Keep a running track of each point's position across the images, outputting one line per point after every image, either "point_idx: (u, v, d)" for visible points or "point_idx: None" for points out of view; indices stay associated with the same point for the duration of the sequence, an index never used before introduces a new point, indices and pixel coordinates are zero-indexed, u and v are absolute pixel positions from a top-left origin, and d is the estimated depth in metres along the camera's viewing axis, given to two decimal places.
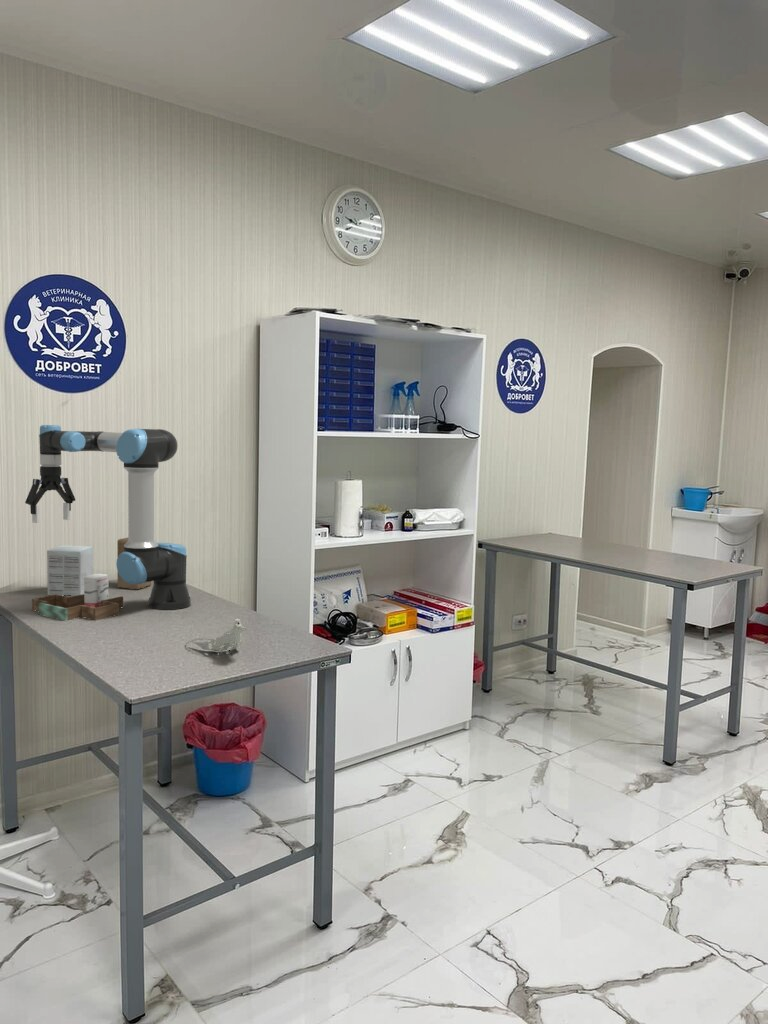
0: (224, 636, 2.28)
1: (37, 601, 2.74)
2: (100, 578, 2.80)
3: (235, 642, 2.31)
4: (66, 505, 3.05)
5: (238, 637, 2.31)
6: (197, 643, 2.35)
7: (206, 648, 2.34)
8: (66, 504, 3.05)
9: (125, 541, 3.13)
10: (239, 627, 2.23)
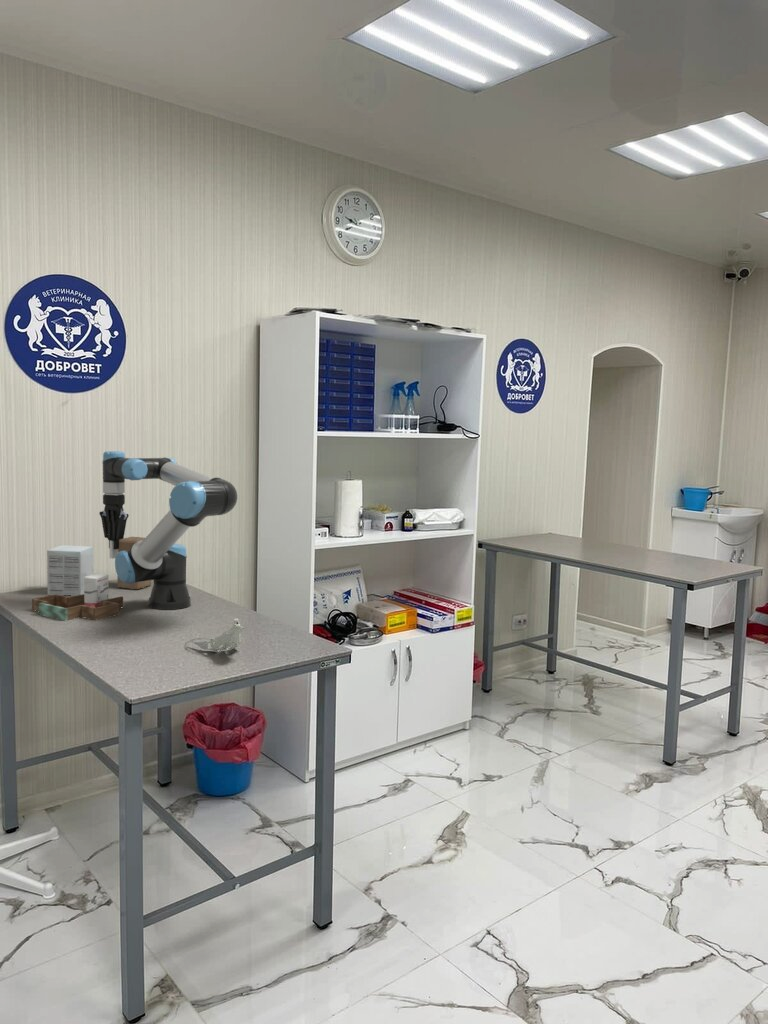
0: (223, 636, 2.28)
1: (37, 601, 2.74)
2: (100, 578, 2.80)
3: (234, 642, 2.31)
4: None
5: (237, 637, 2.31)
6: (196, 643, 2.36)
7: (205, 648, 2.34)
8: None
9: (125, 541, 3.13)
10: (238, 627, 2.24)
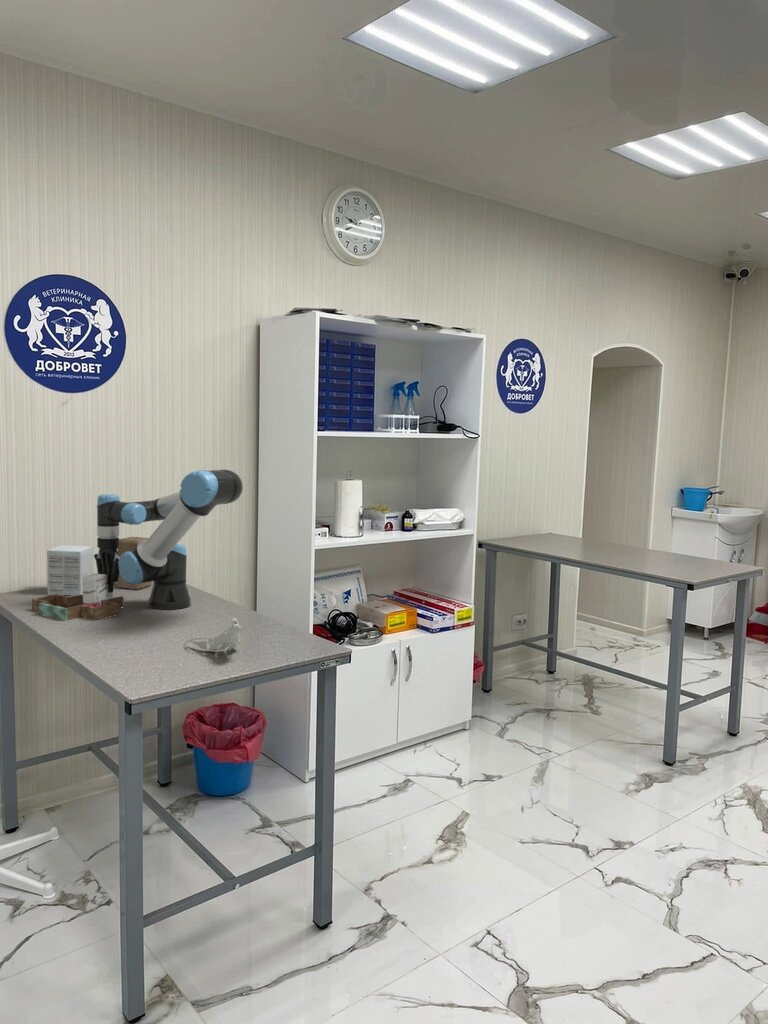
0: (221, 636, 2.28)
1: (37, 601, 2.74)
2: (99, 578, 2.80)
3: (233, 642, 2.31)
4: None
5: (236, 637, 2.31)
6: (195, 642, 2.36)
7: (204, 648, 2.34)
8: None
9: (125, 541, 3.13)
10: (236, 627, 2.24)
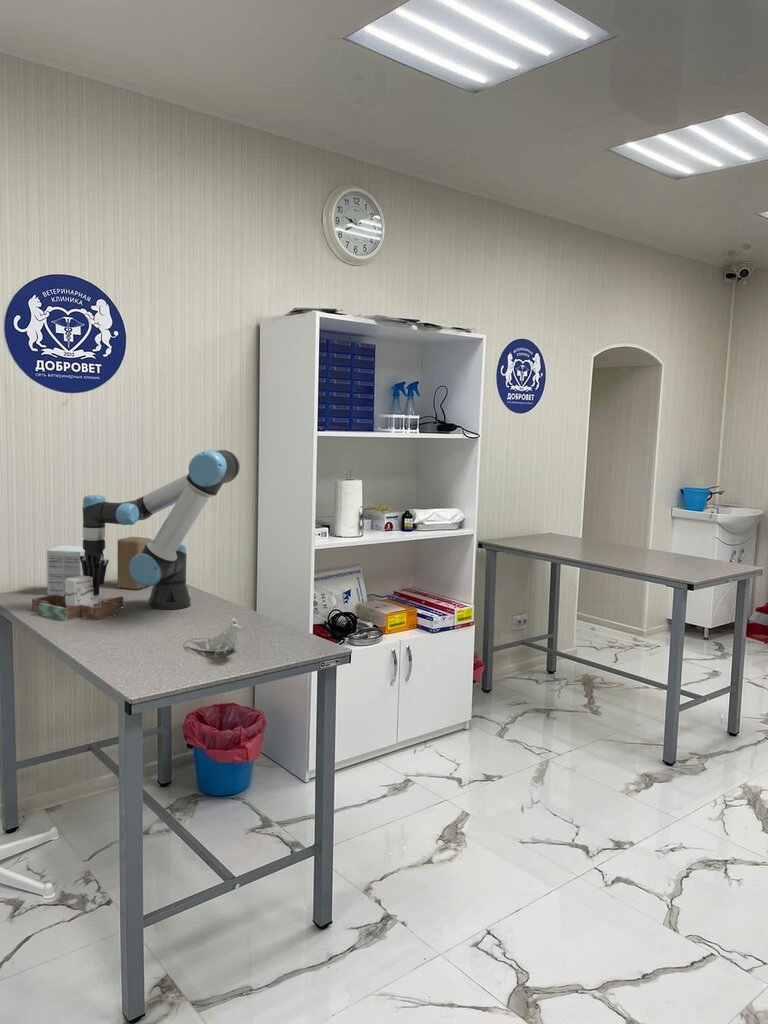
0: (221, 636, 2.28)
1: (37, 601, 2.74)
2: (81, 580, 2.74)
3: (232, 642, 2.31)
4: None
5: (235, 637, 2.31)
6: (195, 642, 2.36)
7: (204, 647, 2.34)
8: None
9: (125, 541, 3.13)
10: (235, 627, 2.24)
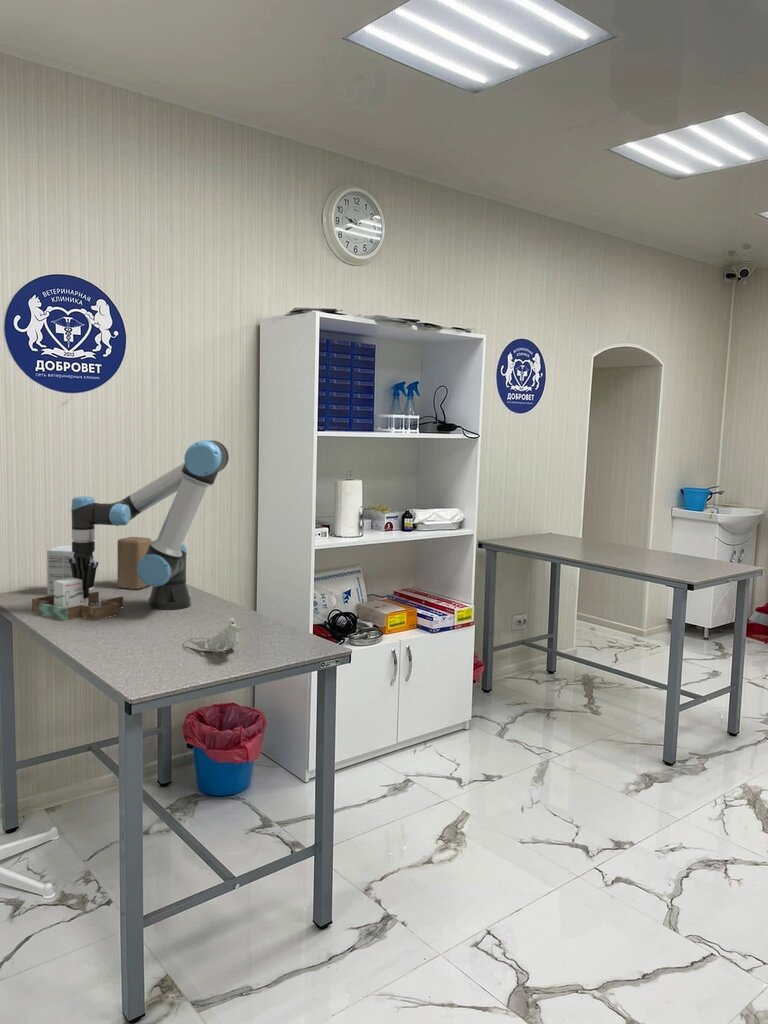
0: (219, 636, 2.28)
1: (37, 601, 2.74)
2: (70, 583, 2.70)
3: (231, 642, 2.31)
4: None
5: (234, 637, 2.31)
6: (194, 642, 2.36)
7: (203, 647, 2.34)
8: None
9: (125, 541, 3.13)
10: (233, 627, 2.23)
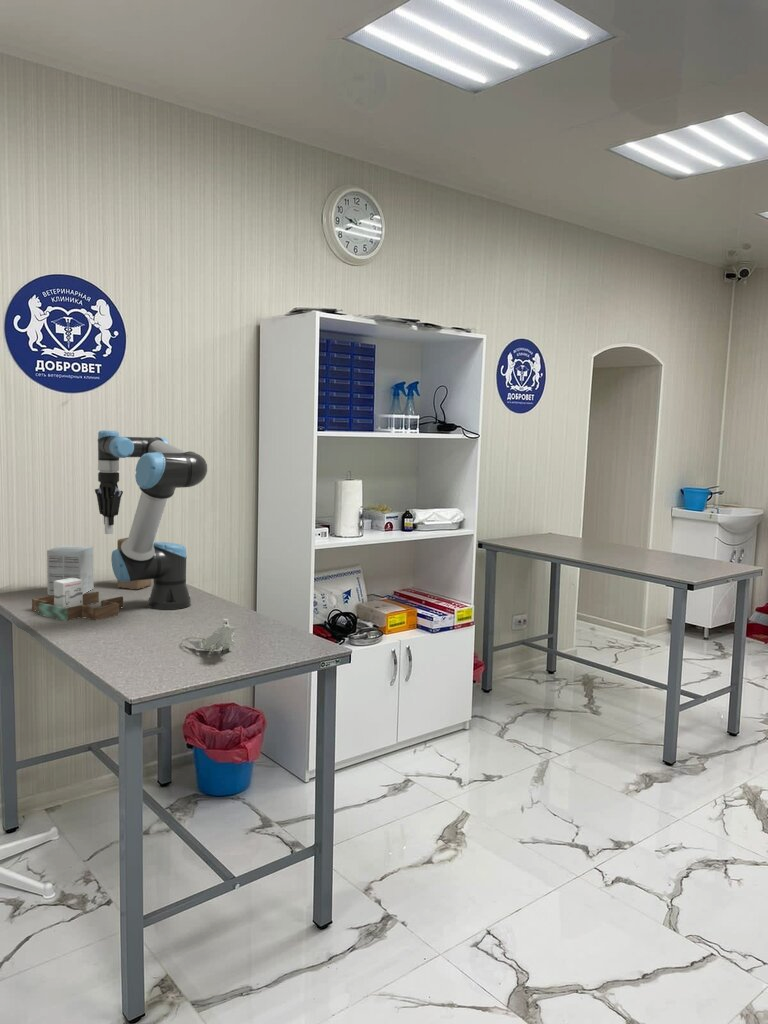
0: (214, 636, 2.28)
1: (37, 601, 2.74)
2: (70, 583, 2.70)
3: (226, 642, 2.31)
4: None
5: (229, 637, 2.31)
6: (191, 642, 2.37)
7: (198, 647, 2.34)
8: None
9: None
10: (226, 627, 2.23)
